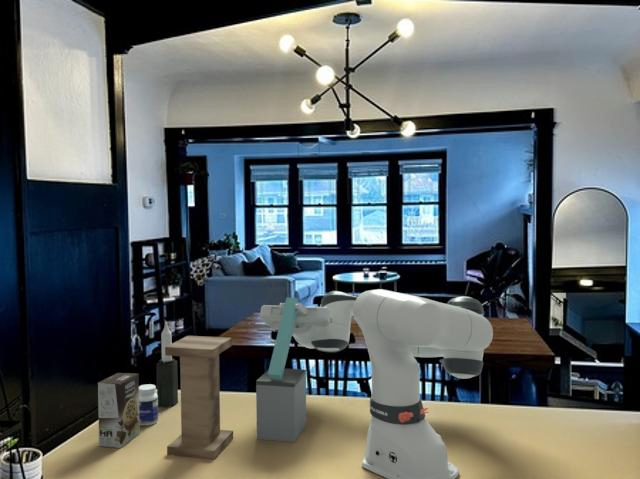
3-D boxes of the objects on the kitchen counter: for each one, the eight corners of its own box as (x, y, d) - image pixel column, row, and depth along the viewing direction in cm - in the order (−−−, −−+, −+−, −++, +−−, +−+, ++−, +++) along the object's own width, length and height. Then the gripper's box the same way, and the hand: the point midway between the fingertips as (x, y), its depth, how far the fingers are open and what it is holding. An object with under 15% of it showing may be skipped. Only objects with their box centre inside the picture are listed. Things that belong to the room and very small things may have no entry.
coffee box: (121, 448, 134) (120, 383, 133) (98, 446, 135) (96, 382, 134) (141, 433, 143) (139, 372, 142) (118, 431, 144) (117, 371, 143)
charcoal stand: (271, 421, 151) (270, 367, 150) (306, 423, 149) (305, 369, 148) (256, 438, 139) (256, 380, 138) (294, 442, 137) (294, 383, 136)
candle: (155, 406, 162) (154, 323, 161) (163, 400, 167) (161, 320, 166) (172, 407, 162) (170, 323, 160) (179, 401, 167) (177, 320, 165)
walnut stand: (189, 434, 142) (188, 335, 141) (233, 438, 139) (231, 337, 138) (167, 454, 130) (165, 347, 129) (214, 459, 128) (212, 349, 126)
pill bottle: (132, 425, 148) (131, 389, 148) (142, 417, 154) (141, 382, 153) (152, 426, 147) (151, 390, 147) (161, 418, 153) (161, 383, 152)
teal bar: (288, 304, 155) (286, 297, 152) (298, 304, 154) (296, 297, 152) (270, 380, 138) (267, 374, 136) (281, 380, 138) (279, 374, 136)
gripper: (334, 333, 159) (325, 318, 146) (266, 330, 163) (253, 315, 151) (336, 313, 161) (327, 296, 149) (269, 310, 166) (256, 294, 154)
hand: (289, 305), depth 150 cm, fingers closed on teal bar, 3 cm apart
